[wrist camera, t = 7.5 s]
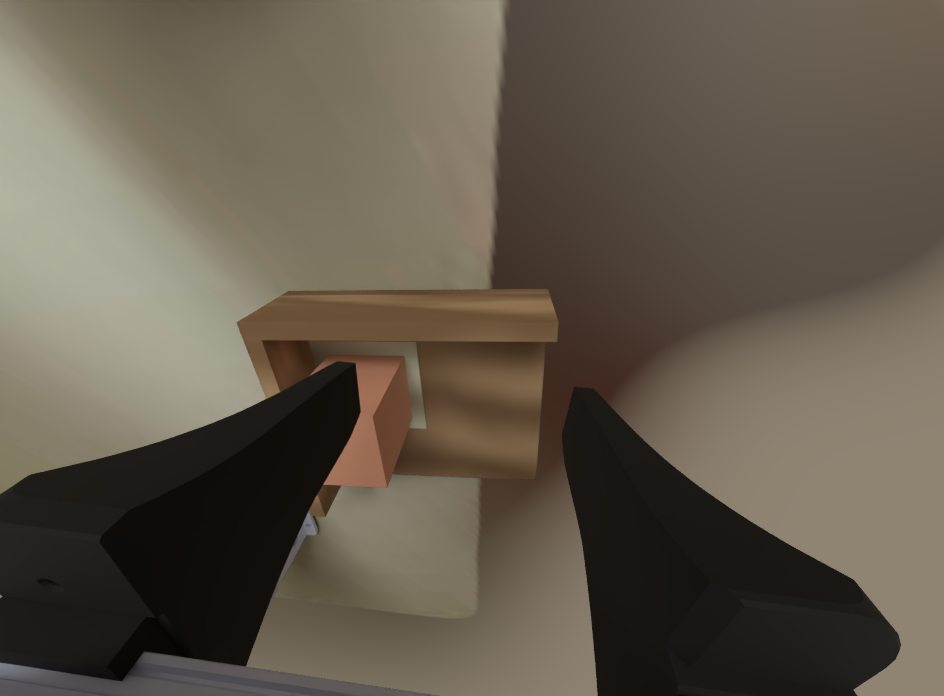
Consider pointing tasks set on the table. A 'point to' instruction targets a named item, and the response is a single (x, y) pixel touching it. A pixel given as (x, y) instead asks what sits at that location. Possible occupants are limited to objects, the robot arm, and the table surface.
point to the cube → (374, 421)
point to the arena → (425, 368)
